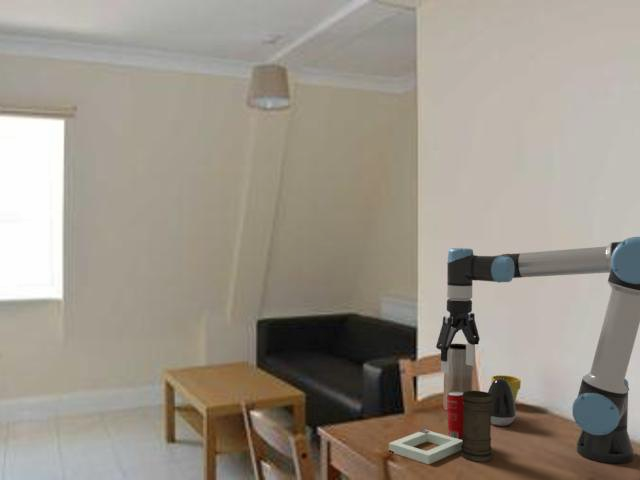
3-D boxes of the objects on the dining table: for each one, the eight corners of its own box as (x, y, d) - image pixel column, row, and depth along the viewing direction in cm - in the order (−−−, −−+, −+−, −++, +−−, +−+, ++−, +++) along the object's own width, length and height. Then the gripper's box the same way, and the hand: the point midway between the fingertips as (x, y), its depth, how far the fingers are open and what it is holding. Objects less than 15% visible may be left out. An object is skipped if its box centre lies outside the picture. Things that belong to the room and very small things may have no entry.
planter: (477, 409, 238) (478, 346, 237) (462, 415, 230) (463, 350, 230) (452, 403, 245) (454, 342, 244) (437, 409, 237) (439, 345, 236)
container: (486, 464, 184) (488, 400, 184) (455, 457, 189) (457, 395, 189) (496, 454, 192) (498, 393, 191) (466, 448, 197) (467, 388, 196)
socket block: (463, 448, 196) (464, 439, 196) (428, 464, 184) (428, 454, 183) (424, 437, 206) (425, 428, 206) (388, 451, 193) (388, 442, 193)
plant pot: (524, 404, 245) (525, 378, 244) (513, 410, 237) (513, 383, 236) (498, 399, 251) (498, 373, 251) (486, 405, 243) (486, 378, 243)
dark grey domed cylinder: (519, 422, 223) (520, 377, 222) (510, 430, 214) (511, 383, 214) (489, 417, 228) (490, 373, 228) (479, 424, 220) (480, 379, 219)
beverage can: (467, 445, 199) (468, 396, 199) (445, 444, 200) (446, 394, 200) (467, 439, 205) (468, 391, 205) (446, 437, 206) (447, 389, 206)
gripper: (470, 294, 213) (469, 360, 214) (425, 301, 195) (423, 372, 196) (491, 297, 208) (490, 364, 208) (446, 303, 190) (445, 377, 191)
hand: (458, 368), depth 202 cm, fingers open, 13 cm apart
